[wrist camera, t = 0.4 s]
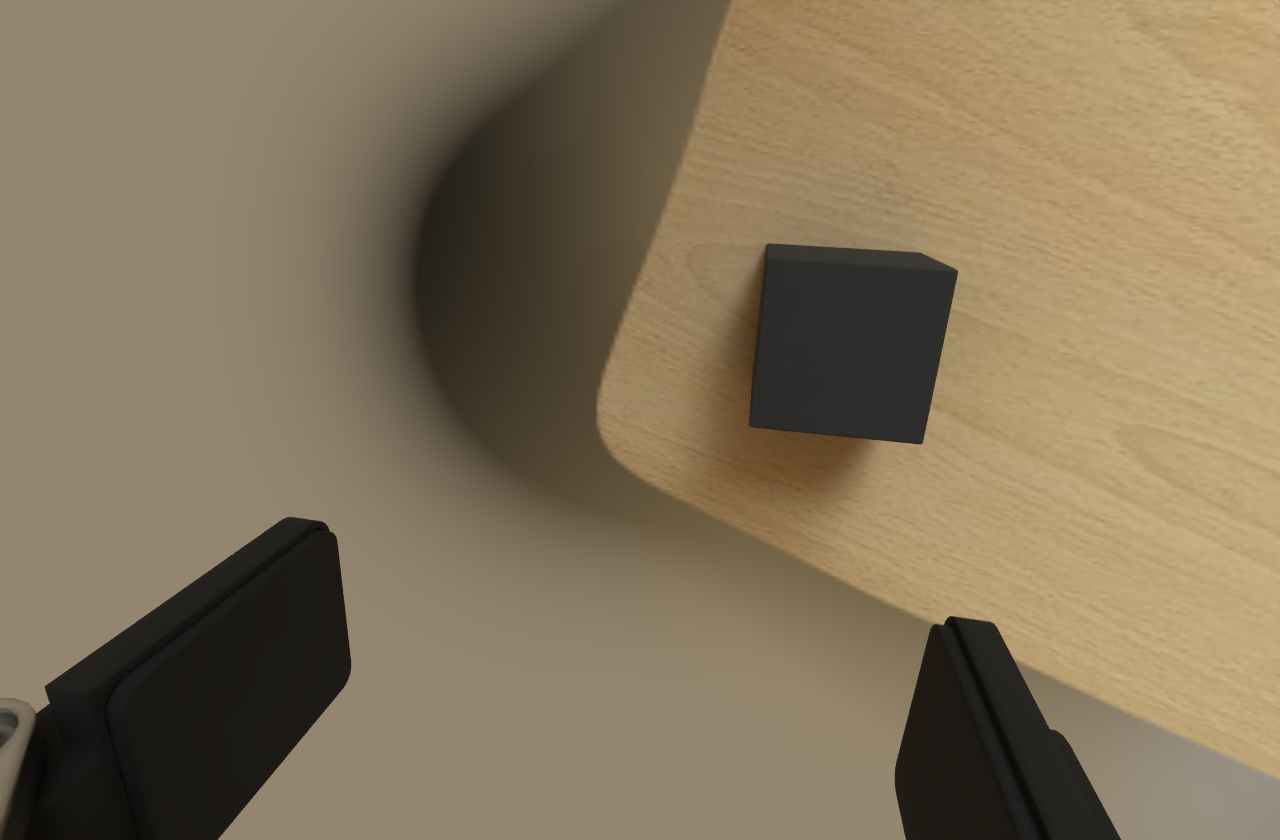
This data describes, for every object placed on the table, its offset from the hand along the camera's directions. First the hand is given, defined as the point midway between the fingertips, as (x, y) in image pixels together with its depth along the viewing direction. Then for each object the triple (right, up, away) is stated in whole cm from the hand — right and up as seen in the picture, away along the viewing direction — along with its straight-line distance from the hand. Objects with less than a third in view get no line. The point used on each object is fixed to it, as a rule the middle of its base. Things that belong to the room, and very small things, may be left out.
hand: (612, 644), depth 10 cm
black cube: (+7, +7, +13) cm, 16 cm away
